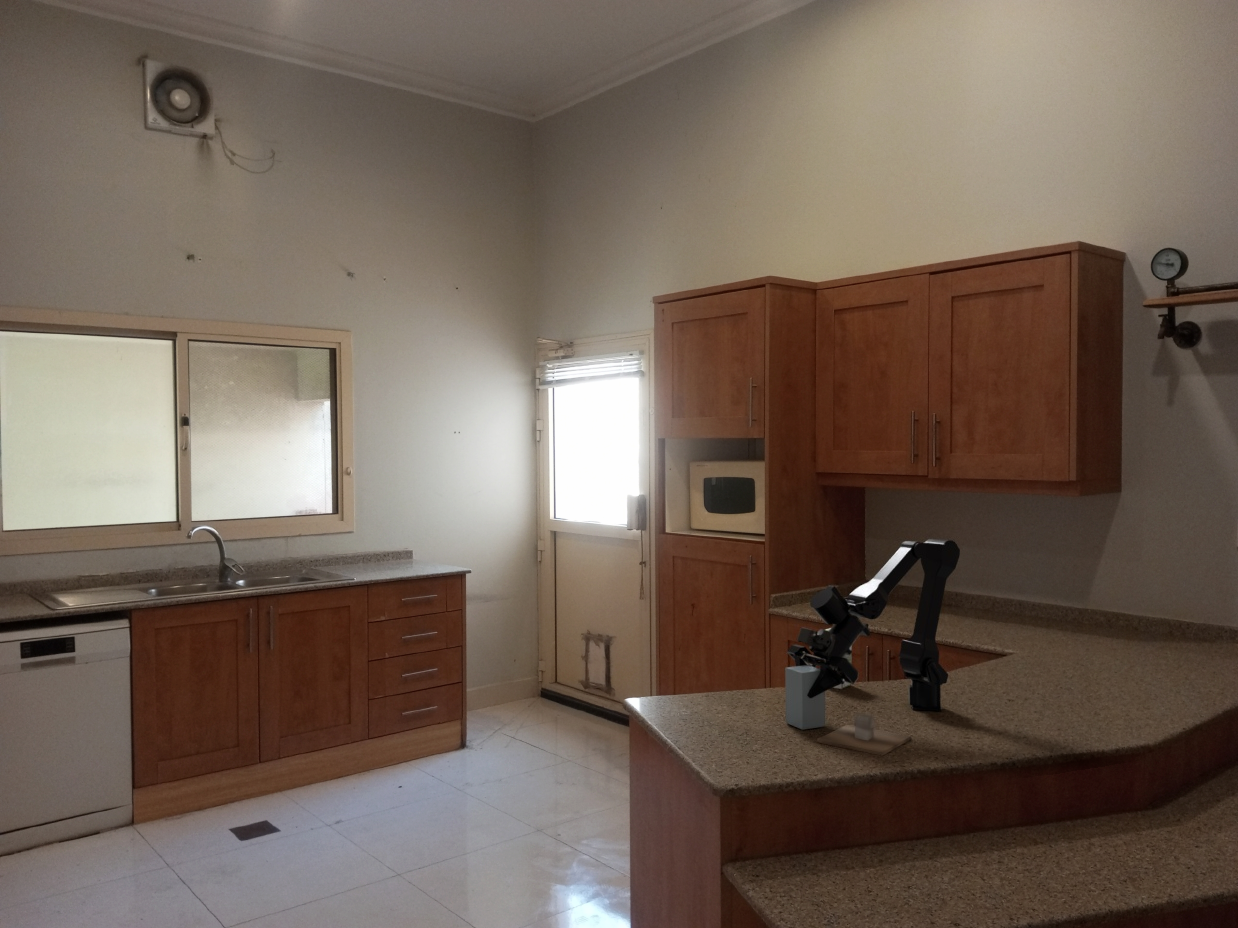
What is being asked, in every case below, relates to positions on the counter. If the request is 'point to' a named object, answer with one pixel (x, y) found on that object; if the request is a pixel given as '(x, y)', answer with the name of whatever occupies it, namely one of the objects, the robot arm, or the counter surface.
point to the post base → (864, 745)
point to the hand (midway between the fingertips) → (799, 693)
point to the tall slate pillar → (803, 698)
